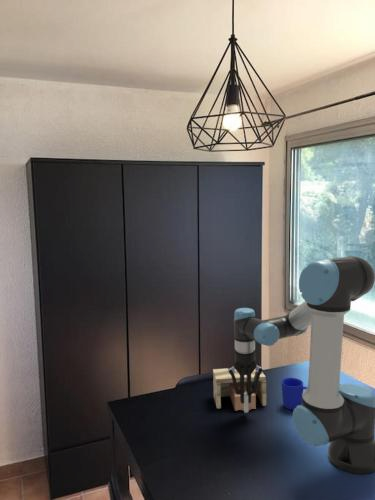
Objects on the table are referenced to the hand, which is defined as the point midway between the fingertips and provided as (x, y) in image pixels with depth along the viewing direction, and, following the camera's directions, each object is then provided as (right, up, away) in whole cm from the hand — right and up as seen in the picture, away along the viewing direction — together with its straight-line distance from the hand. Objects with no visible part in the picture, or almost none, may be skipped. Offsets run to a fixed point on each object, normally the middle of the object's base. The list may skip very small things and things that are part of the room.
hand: (245, 410), depth 164 cm
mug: (+21, -1, +6) cm, 21 cm away
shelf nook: (-1, -1, +12) cm, 12 cm away
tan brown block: (0, -1, +11) cm, 11 cm away
